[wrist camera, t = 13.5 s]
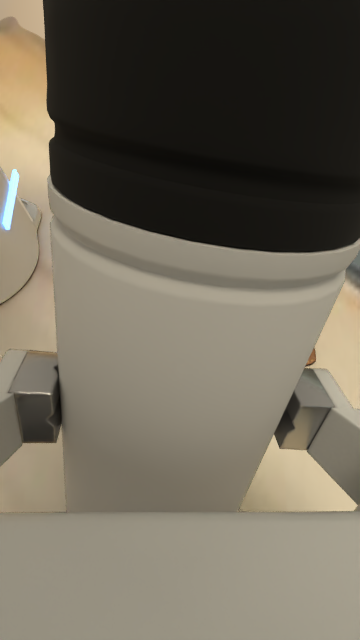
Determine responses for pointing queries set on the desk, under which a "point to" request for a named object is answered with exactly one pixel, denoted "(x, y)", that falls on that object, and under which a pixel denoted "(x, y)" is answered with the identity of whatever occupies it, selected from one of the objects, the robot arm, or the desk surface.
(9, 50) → the desk surface
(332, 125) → the travel mug
